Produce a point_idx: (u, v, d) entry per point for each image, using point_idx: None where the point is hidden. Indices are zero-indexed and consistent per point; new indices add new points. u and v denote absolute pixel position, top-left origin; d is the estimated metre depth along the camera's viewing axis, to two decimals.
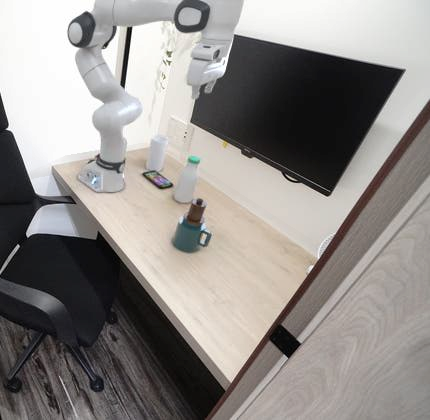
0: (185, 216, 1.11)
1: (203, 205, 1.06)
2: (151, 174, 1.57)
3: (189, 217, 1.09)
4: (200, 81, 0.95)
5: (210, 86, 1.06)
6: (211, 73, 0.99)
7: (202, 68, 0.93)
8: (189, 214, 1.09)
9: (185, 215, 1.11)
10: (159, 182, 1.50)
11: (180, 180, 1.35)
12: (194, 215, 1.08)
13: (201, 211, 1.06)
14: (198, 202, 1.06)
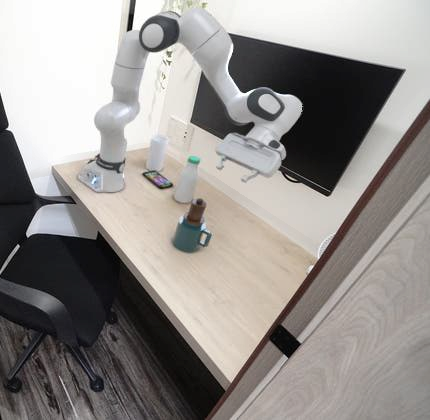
0: (185, 216, 1.11)
1: (203, 205, 1.06)
2: (151, 174, 1.57)
3: (189, 217, 1.09)
4: None
5: None
6: None
7: (280, 165, 1.01)
8: (189, 214, 1.09)
9: (185, 215, 1.11)
10: (159, 182, 1.50)
11: (180, 180, 1.35)
12: (194, 215, 1.08)
13: (201, 211, 1.06)
14: (198, 202, 1.06)
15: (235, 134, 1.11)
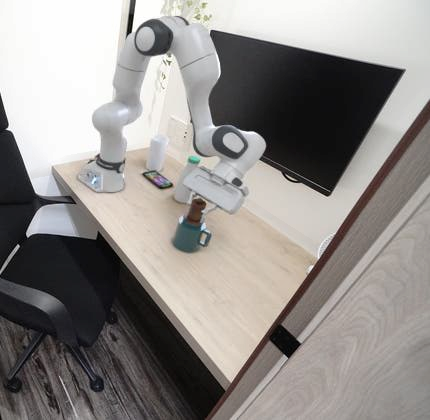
0: (185, 216, 1.11)
1: (203, 205, 1.06)
2: (151, 174, 1.57)
3: (189, 217, 1.09)
4: None
5: None
6: None
7: (243, 202, 1.02)
8: (189, 214, 1.09)
9: (185, 215, 1.11)
10: (159, 182, 1.50)
11: (180, 180, 1.35)
12: (193, 215, 1.08)
13: None
14: (198, 202, 1.06)
15: (202, 168, 1.12)
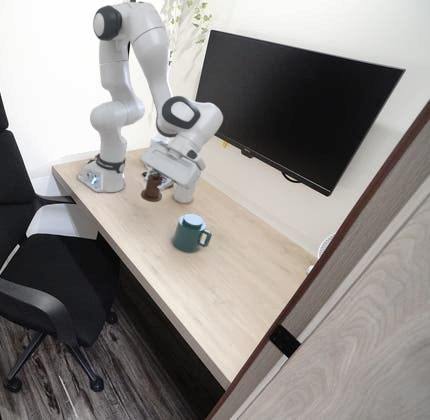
0: (142, 193, 1.06)
1: (159, 180, 1.01)
2: None
3: (146, 194, 1.05)
4: None
5: None
6: None
7: (199, 176, 0.97)
8: (146, 190, 1.04)
9: (142, 192, 1.07)
10: None
11: None
12: (150, 191, 1.03)
13: None
14: (154, 177, 1.01)
15: (160, 143, 1.07)
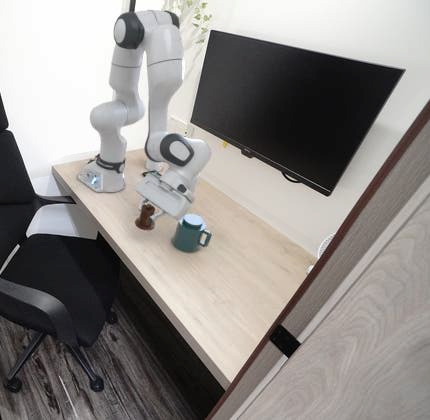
0: (136, 221, 1.13)
1: (151, 211, 1.08)
2: None
3: (140, 222, 1.12)
4: None
5: None
6: None
7: (188, 208, 1.04)
8: (139, 219, 1.11)
9: (136, 220, 1.14)
10: None
11: None
12: (143, 220, 1.10)
13: None
14: (147, 208, 1.08)
15: (153, 174, 1.14)
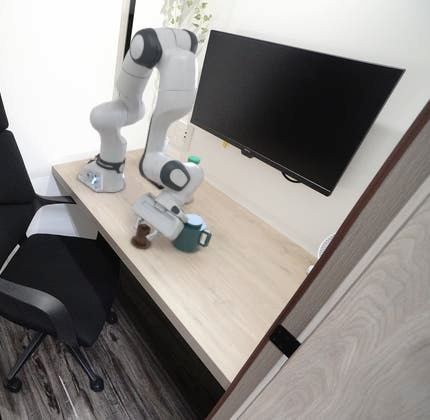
0: (133, 240, 1.18)
1: (147, 230, 1.13)
2: None
3: (136, 241, 1.16)
4: None
5: None
6: None
7: None
8: (135, 238, 1.16)
9: (133, 239, 1.18)
10: None
11: None
12: (139, 239, 1.15)
13: (145, 236, 1.13)
14: (142, 228, 1.13)
15: (148, 194, 1.19)
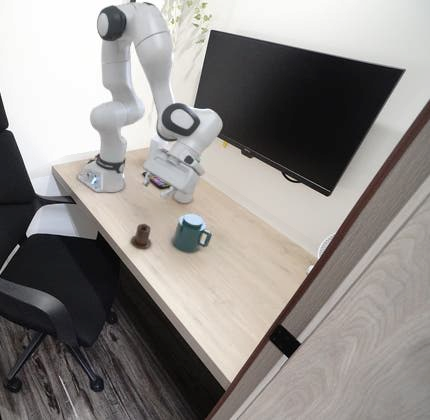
0: (133, 240, 1.18)
1: (147, 230, 1.13)
2: None
3: (136, 241, 1.16)
4: None
5: (148, 180, 1.09)
6: None
7: (197, 181, 0.97)
8: (135, 238, 1.16)
9: (133, 239, 1.18)
10: (159, 182, 1.50)
11: None
12: (139, 239, 1.15)
13: (145, 236, 1.13)
14: (142, 228, 1.13)
15: (162, 150, 1.09)
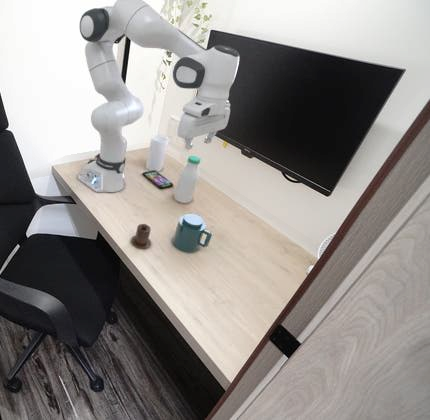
0: (133, 240, 1.18)
1: (147, 230, 1.13)
2: (151, 174, 1.57)
3: (136, 241, 1.16)
4: (189, 134, 1.00)
5: (210, 137, 1.09)
6: (205, 127, 1.02)
7: (190, 123, 0.97)
8: (135, 238, 1.16)
9: (133, 239, 1.18)
10: (159, 182, 1.50)
11: (180, 180, 1.35)
12: (139, 239, 1.15)
13: (145, 236, 1.13)
14: (142, 228, 1.13)
15: None
